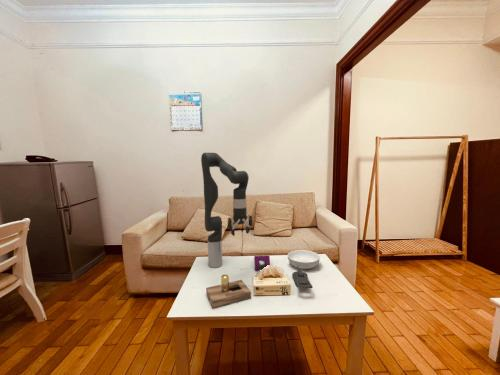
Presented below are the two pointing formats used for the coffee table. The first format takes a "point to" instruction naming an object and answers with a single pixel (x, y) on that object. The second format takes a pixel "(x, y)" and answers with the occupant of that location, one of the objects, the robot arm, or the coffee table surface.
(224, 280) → the peg
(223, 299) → the keyhole board
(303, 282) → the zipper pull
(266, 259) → the purple tall block
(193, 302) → the coffee table surface
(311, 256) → the serving bowl
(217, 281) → the coffee table surface
